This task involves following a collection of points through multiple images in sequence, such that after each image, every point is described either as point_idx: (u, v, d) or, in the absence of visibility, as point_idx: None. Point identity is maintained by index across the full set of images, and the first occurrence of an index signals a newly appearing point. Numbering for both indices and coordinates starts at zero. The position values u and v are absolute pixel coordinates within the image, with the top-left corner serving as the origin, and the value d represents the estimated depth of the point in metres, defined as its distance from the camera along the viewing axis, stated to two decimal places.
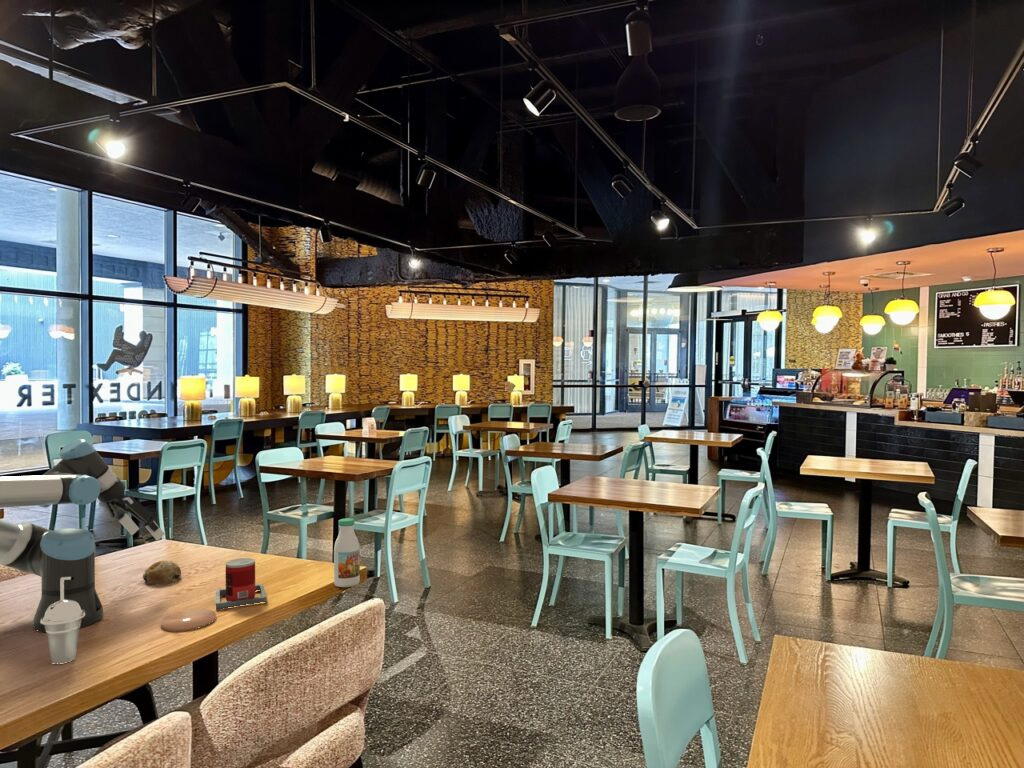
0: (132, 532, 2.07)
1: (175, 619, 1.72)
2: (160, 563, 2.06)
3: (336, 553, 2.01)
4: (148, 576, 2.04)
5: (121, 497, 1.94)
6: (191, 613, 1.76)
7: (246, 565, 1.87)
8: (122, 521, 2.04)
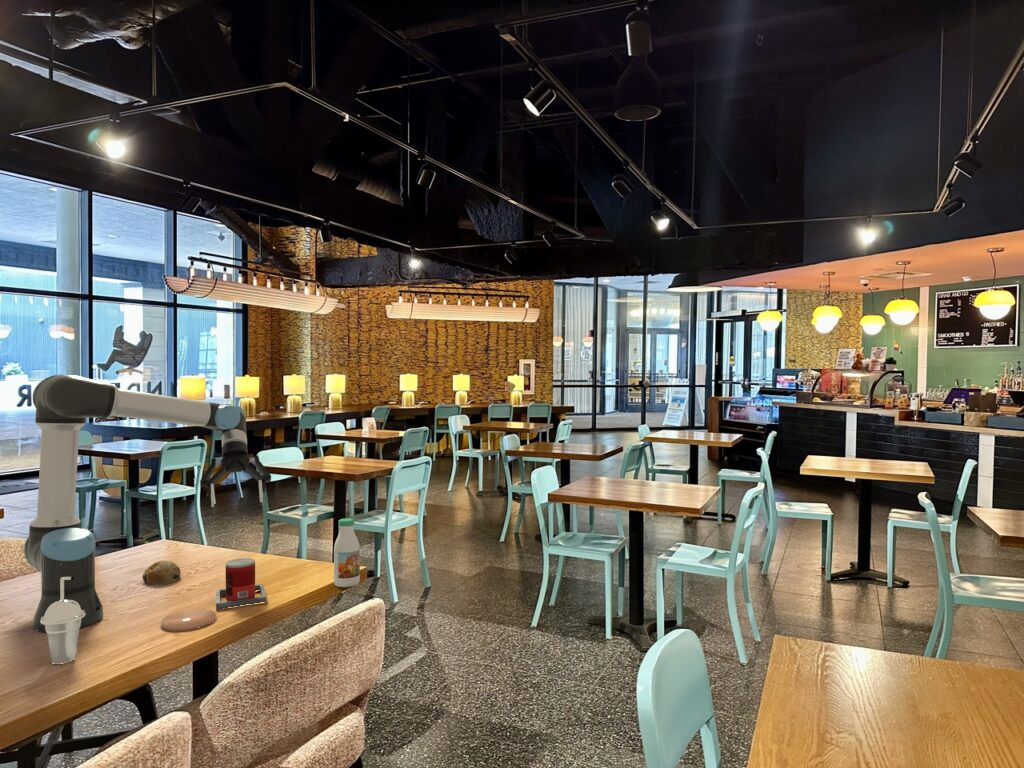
0: (213, 500, 1.96)
1: (175, 619, 1.72)
2: (159, 563, 2.06)
3: (336, 553, 2.01)
4: (147, 576, 2.04)
5: (247, 457, 2.11)
6: (191, 613, 1.76)
7: (246, 565, 1.87)
8: (213, 486, 1.99)
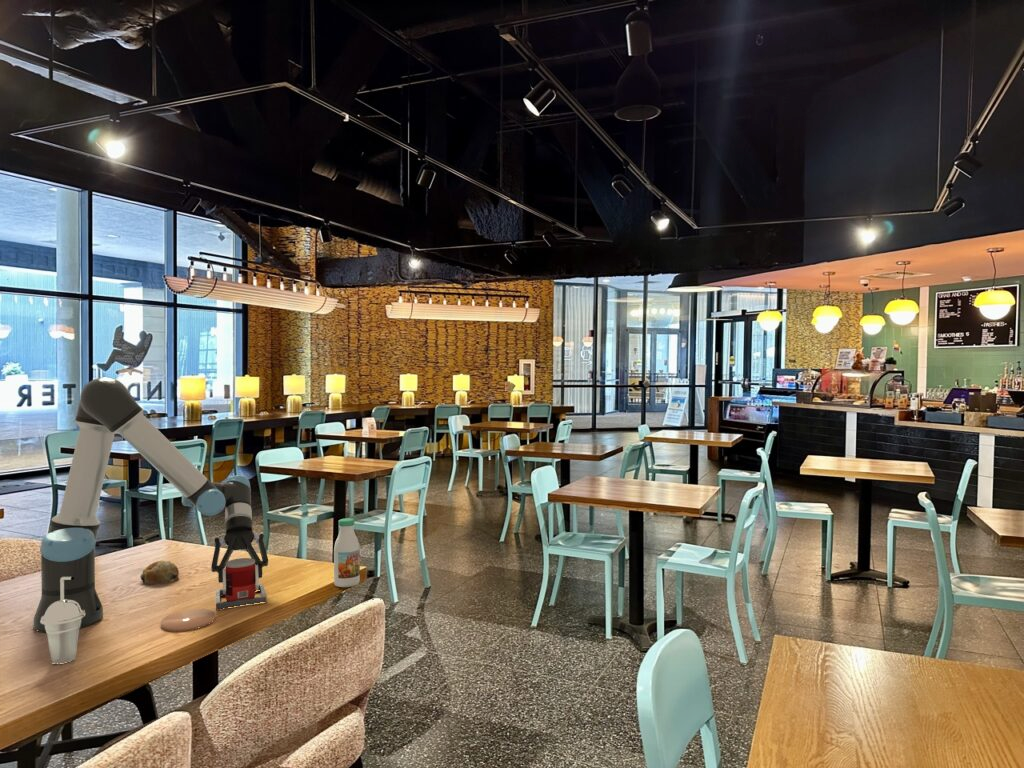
0: (225, 587, 1.85)
1: (175, 619, 1.72)
2: (158, 563, 2.06)
3: (336, 553, 2.01)
4: (146, 576, 2.04)
5: (253, 533, 2.00)
6: (191, 613, 1.76)
7: (246, 565, 1.87)
8: (225, 571, 1.88)
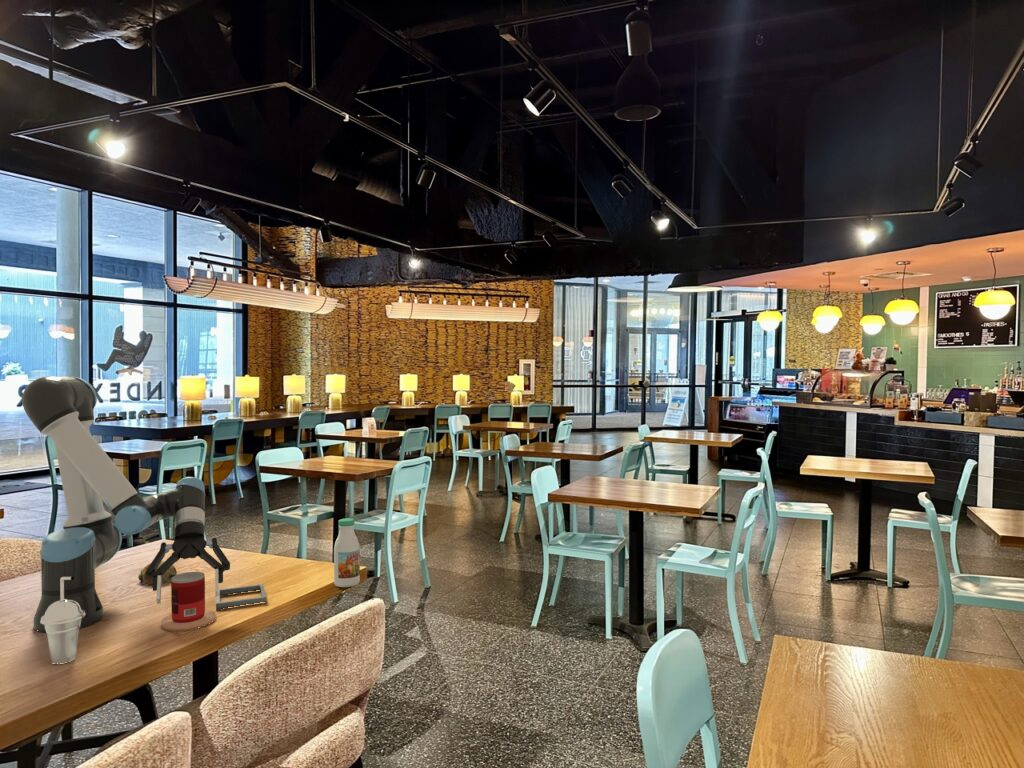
0: (159, 596, 1.68)
1: None
2: None
3: (336, 553, 2.01)
4: (144, 576, 2.03)
5: None
6: None
7: (193, 580, 1.70)
8: (160, 578, 1.71)
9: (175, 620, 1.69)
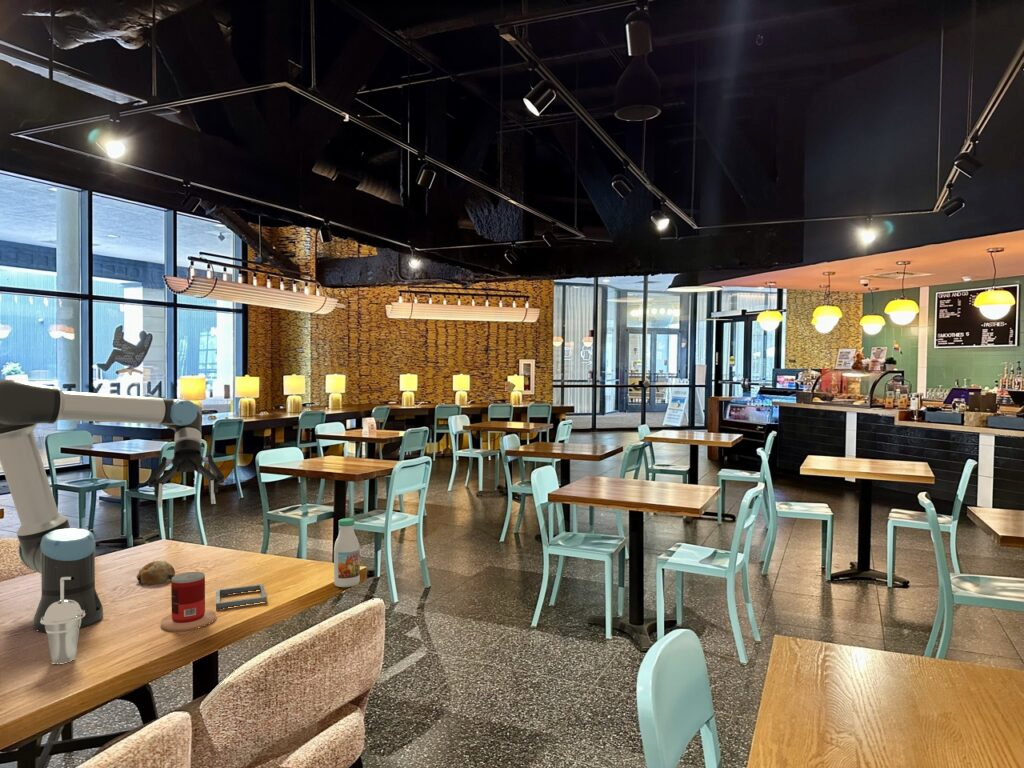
0: (161, 501, 1.88)
1: None
2: (154, 563, 2.06)
3: (336, 553, 2.01)
4: (142, 576, 2.03)
5: None
6: None
7: (194, 580, 1.70)
8: (161, 486, 1.91)
9: (175, 620, 1.69)
